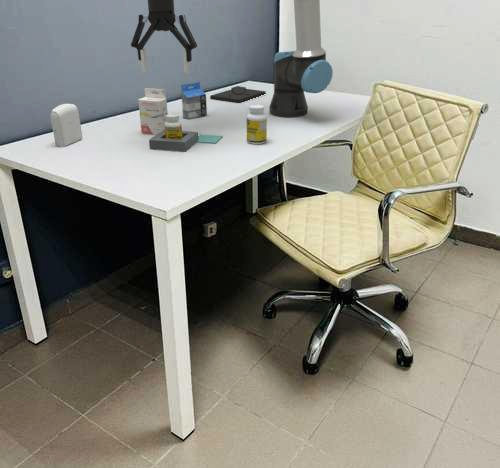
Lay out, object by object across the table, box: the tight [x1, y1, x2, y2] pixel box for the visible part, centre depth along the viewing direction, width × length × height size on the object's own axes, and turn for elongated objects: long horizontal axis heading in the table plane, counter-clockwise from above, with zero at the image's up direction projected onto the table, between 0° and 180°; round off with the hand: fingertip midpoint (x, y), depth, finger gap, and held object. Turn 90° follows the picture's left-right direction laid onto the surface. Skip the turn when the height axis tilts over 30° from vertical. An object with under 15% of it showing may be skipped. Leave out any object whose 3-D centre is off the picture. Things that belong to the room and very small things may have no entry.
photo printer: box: [49, 103, 83, 148], centre depth 164 cm, size 10×4×12 cm, turn 158°
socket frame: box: [148, 130, 199, 153], centre depth 163 cm, size 12×12×3 cm
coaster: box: [196, 133, 223, 145], centre depth 168 cm, size 8×8×1 cm
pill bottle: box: [246, 104, 268, 145], centre depth 163 cm, size 6×6×12 cm
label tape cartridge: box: [180, 81, 208, 120], centre depth 193 cm, size 9×4×12 cm, turn 131°
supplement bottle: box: [165, 113, 183, 140], centre depth 161 cm, size 5×5×10 cm
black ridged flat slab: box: [209, 85, 267, 104], centre depth 227 cm, size 16×3×21 cm
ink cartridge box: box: [138, 87, 169, 136], centre depth 173 cm, size 9×5×15 cm, turn 71°
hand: (165, 72), depth 158 cm, fingers open, 13 cm apart
